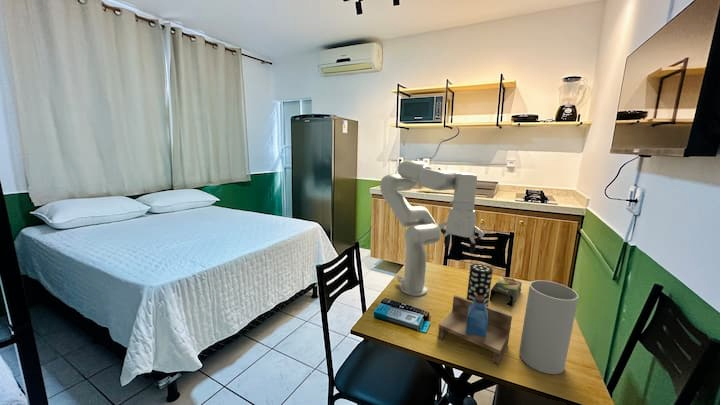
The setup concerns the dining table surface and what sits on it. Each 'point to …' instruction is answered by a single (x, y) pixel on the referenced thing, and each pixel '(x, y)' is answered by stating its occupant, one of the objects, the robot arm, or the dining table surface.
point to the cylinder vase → (548, 326)
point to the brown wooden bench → (494, 335)
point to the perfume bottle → (477, 317)
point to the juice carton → (507, 289)
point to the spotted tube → (479, 282)
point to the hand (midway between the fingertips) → (458, 248)
